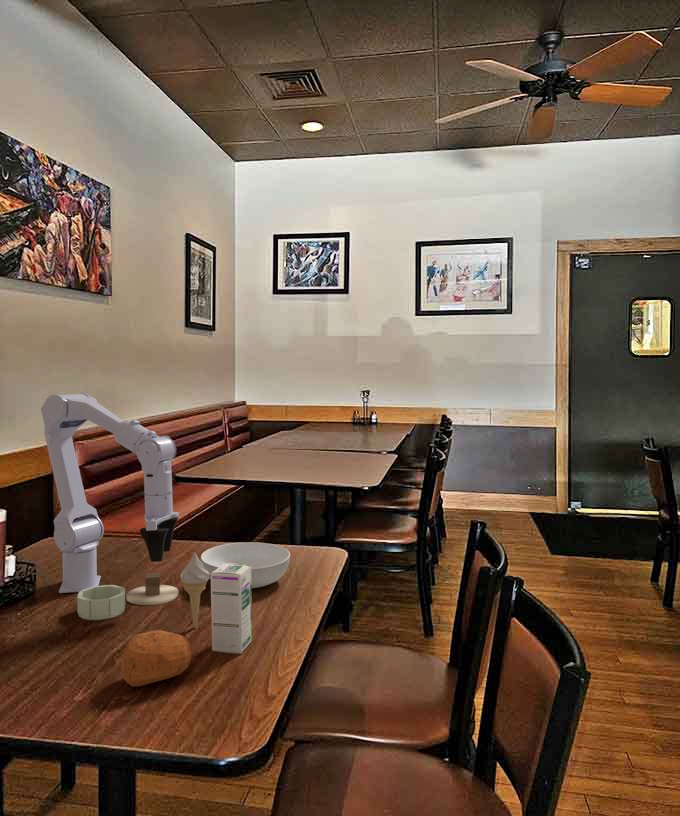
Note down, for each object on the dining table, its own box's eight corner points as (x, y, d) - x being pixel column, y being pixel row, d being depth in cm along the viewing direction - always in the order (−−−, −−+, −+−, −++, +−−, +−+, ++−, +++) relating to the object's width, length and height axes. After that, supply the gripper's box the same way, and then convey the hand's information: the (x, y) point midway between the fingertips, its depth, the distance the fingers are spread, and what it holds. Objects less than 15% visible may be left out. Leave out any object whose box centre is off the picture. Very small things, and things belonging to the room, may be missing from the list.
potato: (120, 670, 107) (120, 626, 107) (189, 661, 111) (189, 618, 111) (121, 697, 99) (121, 649, 98) (196, 686, 102) (196, 640, 102)
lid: (127, 591, 146) (127, 569, 146) (177, 587, 149) (177, 565, 149) (125, 608, 135) (125, 585, 135) (179, 604, 138) (179, 581, 138)
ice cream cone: (215, 624, 127) (215, 549, 126) (199, 635, 121) (199, 557, 120) (190, 620, 129) (190, 546, 128) (174, 631, 123) (174, 554, 122)
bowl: (80, 605, 136) (80, 587, 135) (125, 602, 138) (125, 583, 138) (75, 622, 127) (75, 602, 127) (123, 617, 129) (123, 598, 129)
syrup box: (241, 654, 114) (241, 573, 113) (210, 651, 115) (210, 571, 114) (252, 641, 119) (252, 564, 118) (222, 638, 120) (222, 561, 120)
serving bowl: (182, 590, 146) (182, 560, 145) (231, 564, 165) (231, 538, 165) (263, 604, 138) (263, 572, 138) (304, 575, 157) (305, 547, 157)
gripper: (169, 499, 131) (172, 565, 132) (184, 486, 145) (186, 546, 146) (134, 500, 131) (137, 566, 131) (152, 487, 145) (154, 547, 146)
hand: (160, 556), depth 139 cm, fingers open, 7 cm apart
